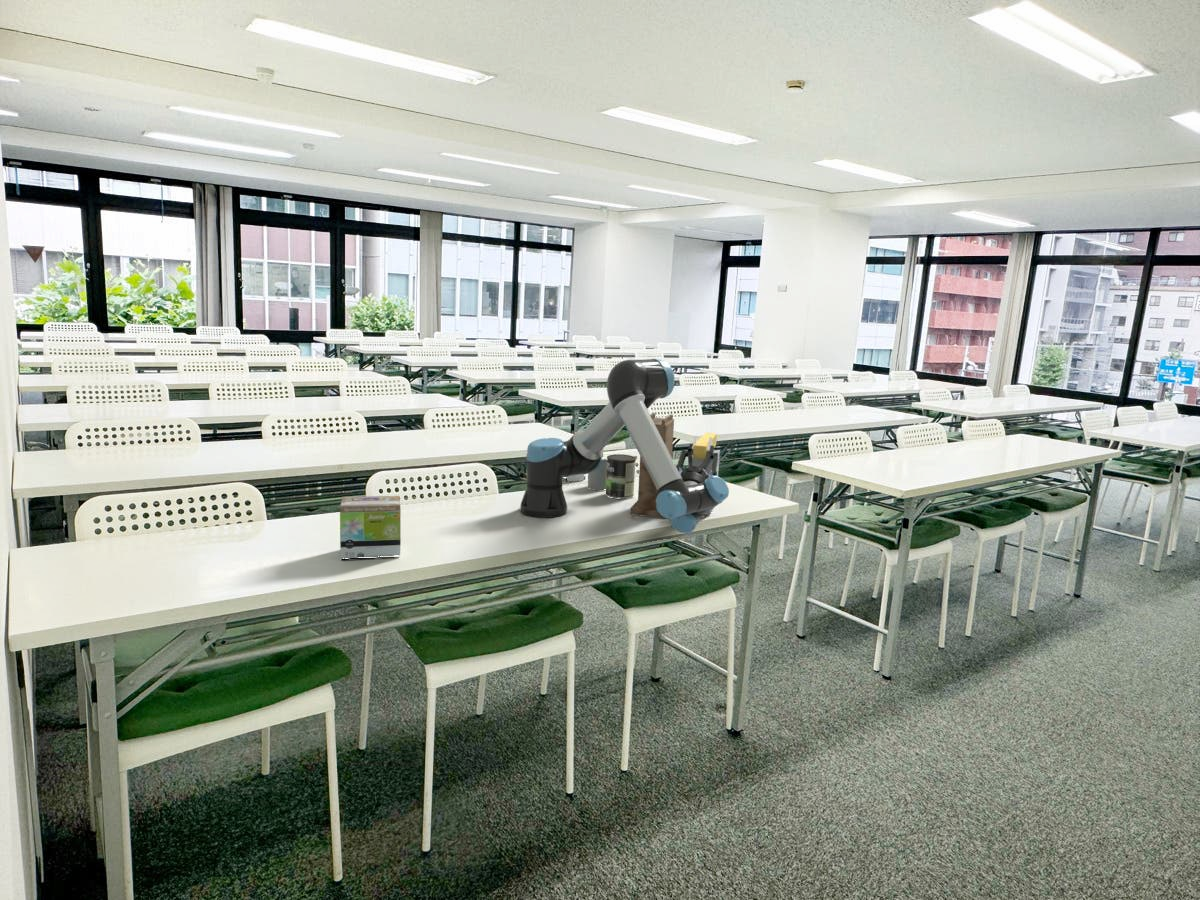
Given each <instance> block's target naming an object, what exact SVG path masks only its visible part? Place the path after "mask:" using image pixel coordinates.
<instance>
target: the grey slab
mask: <svg viewBox="0 0 1200 900" xmlns="http://www.w3.org/2000/svg"><path fill="white" fill-rule="evenodd" d="M714 453H718V463H717V469H716V471H717V476H718V477H719V470H720V469H719V466H720V455H721V454H720V453H721V450H719V449H718V450H717V449H714ZM703 461H704V459H700V458H693V455H692V466H696V467H700V465H701V464H702V463H703ZM712 463H713V460H711V462H710V464H709V465H708V467H707V469H706V472H707V474H709V473H710V472H711V470H712ZM712 510H713V511H714V509H711V510H710V511H708V512H707V513H706V514H705V515H704V516H709V515H710V514H711V515H712V513H713V511H712ZM711 512H712V513H711ZM711 515H710V516H711Z"/></svg>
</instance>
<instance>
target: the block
mask: <svg viewBox="0 0 1200 900" xmlns="http://www.w3.org/2000/svg"><path fill="white" fill-rule="evenodd" d="M710 437H712V446H714V448H715V447H716V446H717V439H718V433H714V432H704V434H702V436H701V437H700V438H699V439H698V441H697V442H696V443H695V445H694V449H693V458H700V459H705V457H706V456H707V447H708V443H709V438H710Z"/></svg>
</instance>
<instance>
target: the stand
mask: <svg viewBox="0 0 1200 900" xmlns="http://www.w3.org/2000/svg"><path fill="white" fill-rule="evenodd" d="M649 414H650V416H651V418H652V420H653V422H654V424H655V426H656V428H657V430H658V432H659V434H660V436H661V438H662V440H663V442H664V444H665V446H666V448H667V450H668V452H669V454H670V456H671V458H672V459H673V447H674V444H673V443H674V430H675V429H674V428H675V427H674V426H675V419H674V414H672V413H671V414H669V415H667V416H666V417H664V418H661V417H656V413H655V412H653V413H649ZM639 456H640V455H639ZM638 473H639V475H638V490H637V491H638V492H637V493H638V494H637V495H638V496H637V500H636V501H635V503H634V504H633V505H632V506H631V507H630V509H629V515H632V514H633V515H634V516H641V515H642V516H643V517H651V518H659V519H666V518H665V517H663V516H662V515H661V514H660V513H659V512H658V510H657V508H656V506H657V505H656V498H657V496H658V494H659V493H658V491H657V489H656V487H655V484H654V482H653V480H652V478H651V476H650V474H649V472H648V470H647V468H646V466H645V464H644V462H643V460H642V458H641V456H640V457H639V471H638ZM633 515H632V516H633Z"/></svg>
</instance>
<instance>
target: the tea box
mask: <svg viewBox="0 0 1200 900" xmlns="http://www.w3.org/2000/svg"><path fill="white" fill-rule="evenodd" d="M400 499H401V498H400V495H376V496H374V495H372V496H370V495H368V496H363V495H362V496H341V502H340V506H339V525H340V526H339V527H340V528H339V531H340V532H339V536H340V537H339V539H340V541H339V543H340V544H339V545H340V546H339V549H340V551H339V552H340V559H341V558H342V559H343V558H344V559H345V558H358V557H378V556H379V557H380V556H394V555H400V556H401V543H402V542H401V538H402V537H401V534H402V533H401V532H402V531H401V521H402V520H401V514H402V513H401V500H400Z"/></svg>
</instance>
